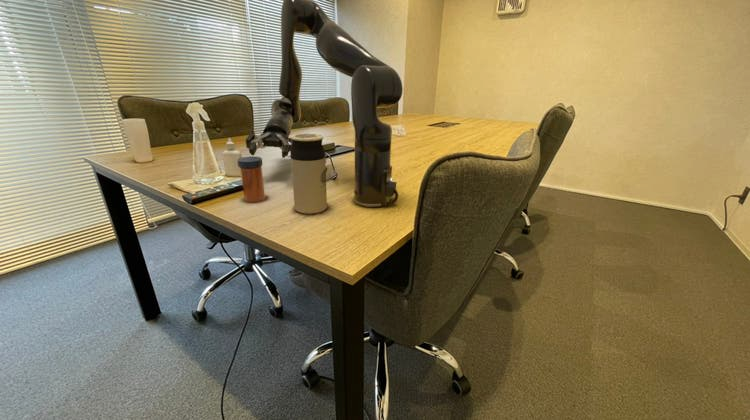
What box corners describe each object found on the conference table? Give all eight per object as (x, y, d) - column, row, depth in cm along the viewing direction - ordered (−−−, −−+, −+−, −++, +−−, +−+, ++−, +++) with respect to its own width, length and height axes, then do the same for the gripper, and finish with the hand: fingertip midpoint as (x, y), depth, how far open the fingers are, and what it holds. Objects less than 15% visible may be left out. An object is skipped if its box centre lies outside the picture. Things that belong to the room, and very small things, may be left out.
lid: (266, 163, 80) (266, 157, 79) (253, 169, 74) (252, 162, 74) (248, 161, 81) (247, 155, 80) (233, 167, 76) (232, 160, 75)
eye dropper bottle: (235, 178, 97) (229, 140, 92) (223, 175, 100) (217, 138, 95) (246, 175, 101) (241, 138, 96) (235, 172, 103) (229, 136, 98)
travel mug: (288, 211, 74) (281, 137, 67) (306, 200, 81) (302, 132, 74) (316, 217, 72) (312, 140, 65) (332, 205, 79) (330, 135, 71)
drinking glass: (128, 162, 110) (115, 120, 104) (144, 158, 116) (133, 118, 110) (144, 164, 109) (133, 121, 103) (160, 159, 115) (149, 118, 109)
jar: (269, 196, 83) (264, 159, 79) (257, 203, 78) (252, 164, 74) (252, 194, 84) (247, 157, 80) (240, 200, 80) (234, 162, 76)
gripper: (253, 116, 95) (239, 139, 82) (300, 120, 97) (293, 143, 84) (256, 138, 99) (243, 163, 87) (300, 142, 101) (294, 167, 88)
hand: (267, 153), depth 85 cm, fingers open, 8 cm apart
